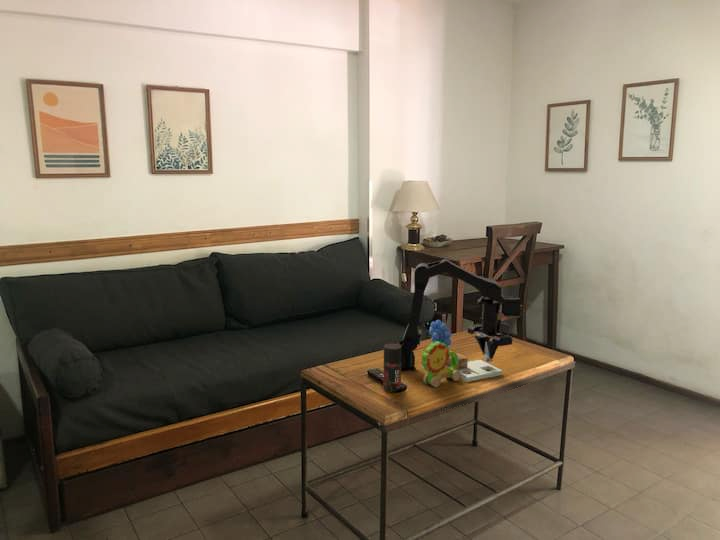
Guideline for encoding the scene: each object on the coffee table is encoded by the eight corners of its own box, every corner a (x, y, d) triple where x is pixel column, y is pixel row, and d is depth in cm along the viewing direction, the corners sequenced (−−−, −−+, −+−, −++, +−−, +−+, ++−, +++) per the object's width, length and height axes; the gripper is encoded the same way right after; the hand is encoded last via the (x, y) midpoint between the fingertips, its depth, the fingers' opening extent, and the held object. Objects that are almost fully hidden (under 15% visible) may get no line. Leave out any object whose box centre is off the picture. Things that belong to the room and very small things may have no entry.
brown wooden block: (453, 369, 211) (454, 360, 210) (444, 364, 216) (444, 355, 215) (467, 367, 213) (467, 357, 213) (457, 361, 219) (457, 353, 218)
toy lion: (450, 375, 210) (451, 335, 208) (461, 380, 206) (463, 339, 203) (417, 385, 201) (418, 343, 198) (428, 390, 197) (429, 347, 194)
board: (466, 382, 204) (466, 376, 204) (445, 370, 216) (445, 365, 215) (502, 374, 211) (502, 369, 211) (479, 363, 223) (480, 358, 222)
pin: (487, 362, 210) (488, 343, 209) (482, 359, 213) (483, 341, 212) (494, 361, 212) (495, 342, 210) (488, 358, 214) (489, 340, 213)
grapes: (422, 347, 242) (422, 319, 240) (433, 344, 246) (434, 316, 244) (443, 354, 233) (444, 325, 231) (454, 351, 237) (455, 322, 235)
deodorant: (390, 383, 202) (390, 342, 199) (404, 388, 199) (405, 345, 196) (379, 388, 198) (380, 346, 195) (393, 393, 194) (394, 350, 191)
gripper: (525, 319, 205) (523, 361, 208) (491, 307, 221) (489, 346, 224) (500, 323, 200) (498, 366, 203) (467, 310, 216) (465, 350, 219)
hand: (488, 357), depth 212 cm, fingers closed on pin, 3 cm apart
